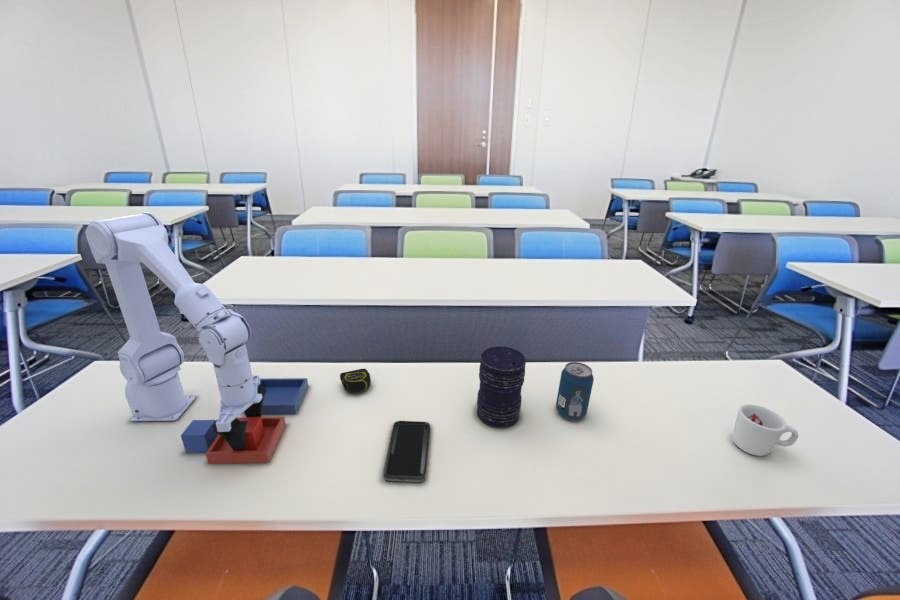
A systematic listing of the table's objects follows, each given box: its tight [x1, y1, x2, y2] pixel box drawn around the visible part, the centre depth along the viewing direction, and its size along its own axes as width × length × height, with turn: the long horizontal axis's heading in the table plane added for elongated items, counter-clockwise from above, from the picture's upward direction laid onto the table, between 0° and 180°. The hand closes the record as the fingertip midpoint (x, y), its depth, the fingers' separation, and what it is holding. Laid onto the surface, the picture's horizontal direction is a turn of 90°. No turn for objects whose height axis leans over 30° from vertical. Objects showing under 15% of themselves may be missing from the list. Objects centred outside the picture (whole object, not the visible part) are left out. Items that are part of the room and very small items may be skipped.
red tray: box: [205, 416, 287, 465], centre depth 80 cm, size 11×10×2 cm
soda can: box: [555, 361, 595, 422], centre depth 89 cm, size 7×7×12 cm
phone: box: [382, 420, 431, 483], centre depth 79 cm, size 8×1×15 cm
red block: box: [238, 416, 264, 450], centre depth 79 cm, size 4×4×4 cm
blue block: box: [180, 419, 219, 454], centre depth 79 cm, size 4×4×4 cm
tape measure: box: [339, 368, 372, 394], centre depth 97 cm, size 7×7×4 cm
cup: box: [732, 403, 799, 457], centre depth 82 cm, size 11×8×8 cm
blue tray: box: [243, 377, 309, 416], centre depth 92 cm, size 11×10×2 cm
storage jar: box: [476, 346, 527, 429], centre depth 88 cm, size 10×10×15 cm
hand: (247, 434), depth 79 cm, fingers open, 7 cm apart
